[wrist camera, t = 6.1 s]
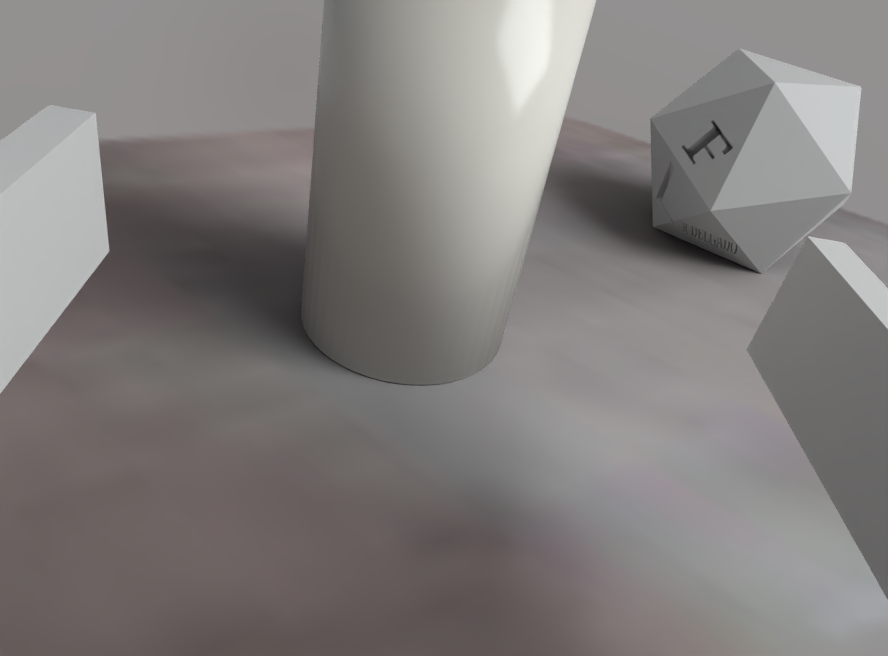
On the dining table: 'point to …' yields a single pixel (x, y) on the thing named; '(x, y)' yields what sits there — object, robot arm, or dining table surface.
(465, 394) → the dining table surface
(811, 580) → the dining table surface
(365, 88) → the jar
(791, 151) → the die
